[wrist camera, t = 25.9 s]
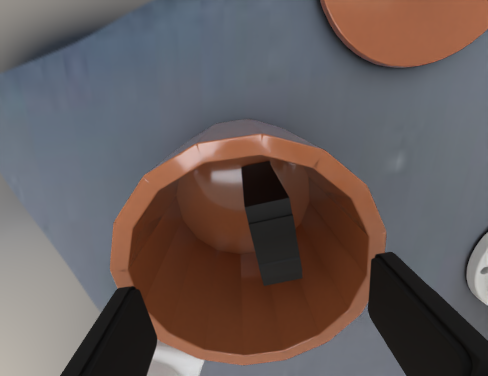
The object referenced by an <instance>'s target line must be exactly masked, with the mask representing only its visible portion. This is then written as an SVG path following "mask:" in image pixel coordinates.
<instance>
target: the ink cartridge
mask: <svg viewBox="0 0 488 376" xmlns="http://www.w3.org/2000/svg"><path fill="white" fill-rule="evenodd" d="M241 173H242V185H243V196H244V207H245V212H246V216H247V220H248V225H249V229H250V233H251V237H252V241H253V245H254V249H255V253H256V257H257V261H258V265H259V270H260V274H261V278H262V281H263V285H264V286H267V285H272V284H277V283H282V282H287V281H292V280H297V279H302V278H303V276H302V265H301V259H300V255H299V249H298V243H297V237H296V229H295V223H294V218H293V214H292V209H291V203H290V198H289V196H288V194H287V193H286V191H285V189H284V187H283V186H282V184H281V182H280V180H279V179H278V177H277V175H276V173H275V172H274V170H273V168H272V166H271V162H270V161H266V162H262V163H257V164H253V165H248V166H244V167H241Z"/></svg>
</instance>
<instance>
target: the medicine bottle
mask: <svg viewBox="0 0 488 376" xmlns="http://www.w3.org/2000/svg"><path fill="white" fill-rule="evenodd" d="M203 363H204V360H200V358H199V359H197V358H195V357H193V356H191V355H189V354H186V353H184V352H182V351H180V350H178V349H175V348H173V347H171V346H169V345H167V344H164V343H162V342H160V340H157V346H156V349H155V352H154V355H153V358H152V361H151V364H150V367H149V370H148V373H147V376H199V374H200V372H201V369H202V366H203Z"/></svg>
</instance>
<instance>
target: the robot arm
mask: <svg viewBox="0 0 488 376" xmlns="http://www.w3.org/2000/svg"><path fill="white" fill-rule="evenodd" d="M467 282H468V286H469V288H470V290H471V292H472V293H473V294H474V295H475V296H476V297H477V298H478V299H479V300H481V301H482V302H483V303H485V304H486V305H487V306H488V232H487V233H486V234H485V235H484V236H483V237H482V239H481V240H480V241H479V243H478V244H477V246H476V247H475V249H474V251H473V253H472V255H471V256H470V259H469V263H468V266H467ZM368 312H369V315H370V318H371V320H372V321H373V323H374V324H375V326H376V328H377V329H378V331H379V333H380V334H381V336H382V337H383V339H384V341H385V342H386V344H387V345H388V347H389V349H390V350H391V352H392V353H393V355H394V357H395V358H396V360H397V361H398V363H399V365H400V366H401V368H402V369H403V371H404V373H405V374H406V376H488V341H487V340H486V339H485V338H484V337H483V336H482V335H481V334H480V333H479V332H478V331H477V330H476V329H475V328H474V327H473V326H471V325H470V324H469V323H468V322H467V321H466V320H465V319H464V318H463V317H462V316H461V315H460V314H459V313H458V312H457V311H456V310H455V309H453V308H452V307H451V306H450V305H449V304H448V303H447V302H446V301H445V300H444V299H443V298H442V297H441V296H440V295H439V294H438V293H437V292H436V291H434V290H433V289H432V288H431V287H429V286H428V285H427V284H426V283H425V282H424V281H423V280H422V279H421V278H420V277H419V276H418V275H417V274H416V273H415V272H414V271H412V270H411V269H410V268H409V267H408V266H407V265H406V264H405V263H404V262H403V261H402V260H401V259H400V258H399V257H398V256H397V255H396V254H394V253H393V252H387V253H380V254H376V255H375V258H373V259H372V260H371V270H370V286H369V301H368ZM156 346H157V334H156V332H155V329H154V326H153V324H152V321H151V318H150V316H149V313H148V310H147V308H146V305H145V302H144V300H143V297H142V295H141V292H140V290H139V289H136V288H135V287H134V286H129V287H122V288H118V289H117V290H116V291H115V293H114V294H113V296H112V297H111V299H110V300H109V302H108V303H107V305H106V306H105V308H104V309H103V311H102V313H101V314H100V316H99V317H98V319H97V320H96V322H95V324H94V325H93V326H92V328H91V329H90V331H89V332H88V334H87V336H86V337H85V339H84V340H83V342H82V343H81V345H80V346H79V348H78V349H77V351H76V352H75V354H74V355H73V357H72V358H71V360H70V361H69V363H68V365H67V366H66V368H65V369H64V371H63V372H62V374H61V375H60V376H147V373H148V370H149V367H150V364H151V361H152V358H153V355H154V352H155V349H156Z"/></svg>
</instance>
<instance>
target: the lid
mask: <svg viewBox="0 0 488 376" xmlns="http://www.w3.org/2000/svg"><path fill="white" fill-rule="evenodd" d="M320 2H321V5H322V8H323V11H324V13H325V15H326V17H327V19H328V22H329V24H330V25H331V27H332V28H333V30H334V32H335V33H336V35H337V36H338V37H339V38H340V39H341V41H342V42H343V43H344V44H345V45H346V46H347V47H348V48H349V49H351V50H352V51H353V52H354V53H355V54H357V55H358V56H360V57H362V58H363V59H365V60H367V61H370V62H372V63H374V64H377V65H381V66H386V67H394V68H407V67H416V66H420V65H425V64H429V63H433V62H436V61H438V60H441V59H444V58H446V57H448V56H450V55H452V54H454V53H456V52H458V51H459V50H461V49H462V48H464V47H466V46H467V45H469V44H470V43H472V42H473V41H474V40H475V39H477V38H478V37H479V36H480V35H481V34H483V33H484V32H485V31H486V30H487V29H488V0H320Z"/></svg>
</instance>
